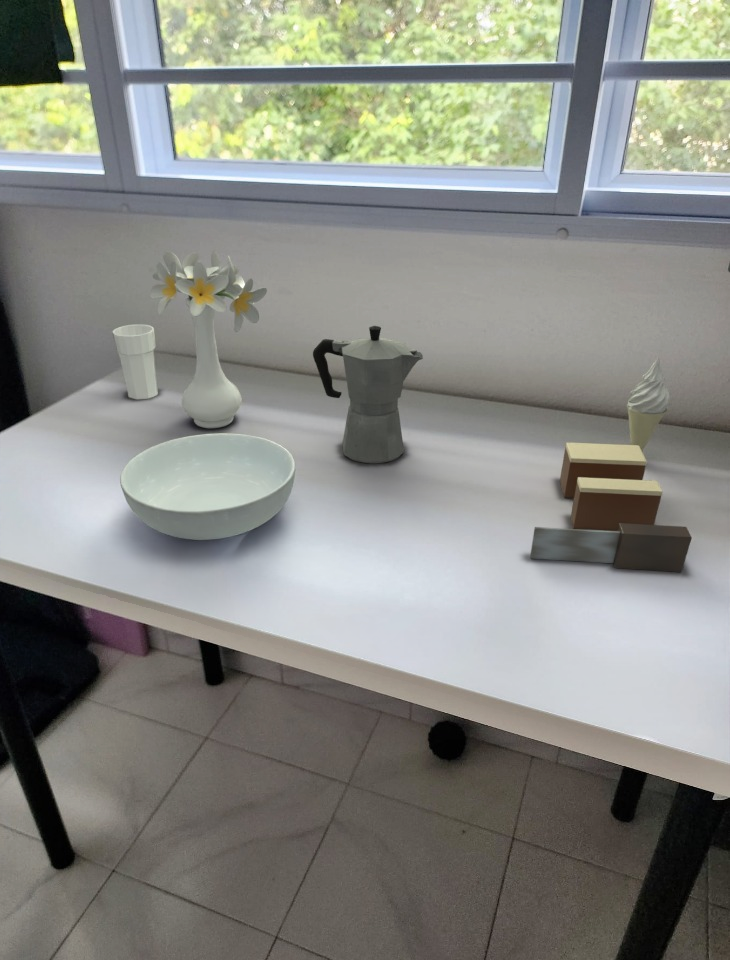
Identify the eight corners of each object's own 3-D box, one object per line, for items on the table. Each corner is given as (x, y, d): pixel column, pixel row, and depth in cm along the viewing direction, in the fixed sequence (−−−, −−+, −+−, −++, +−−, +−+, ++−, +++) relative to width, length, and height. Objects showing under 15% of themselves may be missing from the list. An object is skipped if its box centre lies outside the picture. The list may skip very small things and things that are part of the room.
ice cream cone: (616, 468, 102) (639, 361, 94) (613, 452, 106) (635, 348, 98) (655, 471, 101) (682, 364, 93) (651, 455, 105) (676, 350, 97)
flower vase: (248, 447, 110) (234, 270, 96) (146, 426, 117) (119, 259, 103) (289, 414, 120) (282, 250, 106) (193, 397, 127) (175, 241, 113)
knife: (676, 560, 83) (686, 526, 81) (681, 572, 81) (692, 537, 79) (529, 552, 85) (534, 518, 83) (531, 563, 83) (536, 528, 81)
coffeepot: (425, 442, 110) (432, 320, 100) (409, 470, 103) (415, 341, 93) (326, 429, 115) (324, 311, 105) (304, 455, 107) (299, 330, 97)
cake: (630, 484, 98) (639, 445, 95) (637, 501, 94) (647, 461, 91) (559, 480, 99) (566, 442, 96) (564, 497, 96) (571, 458, 93)
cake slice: (647, 521, 90) (657, 480, 87) (652, 533, 88) (662, 491, 85) (570, 517, 91) (577, 477, 88) (573, 528, 89) (581, 487, 86)
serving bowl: (321, 490, 98) (320, 442, 95) (255, 578, 82) (250, 524, 78) (181, 468, 104) (175, 422, 101) (94, 545, 88) (82, 494, 84)
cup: (153, 402, 125) (143, 337, 119) (116, 399, 127) (105, 335, 121) (168, 388, 131) (160, 325, 125) (134, 385, 132) (123, 323, 126)
